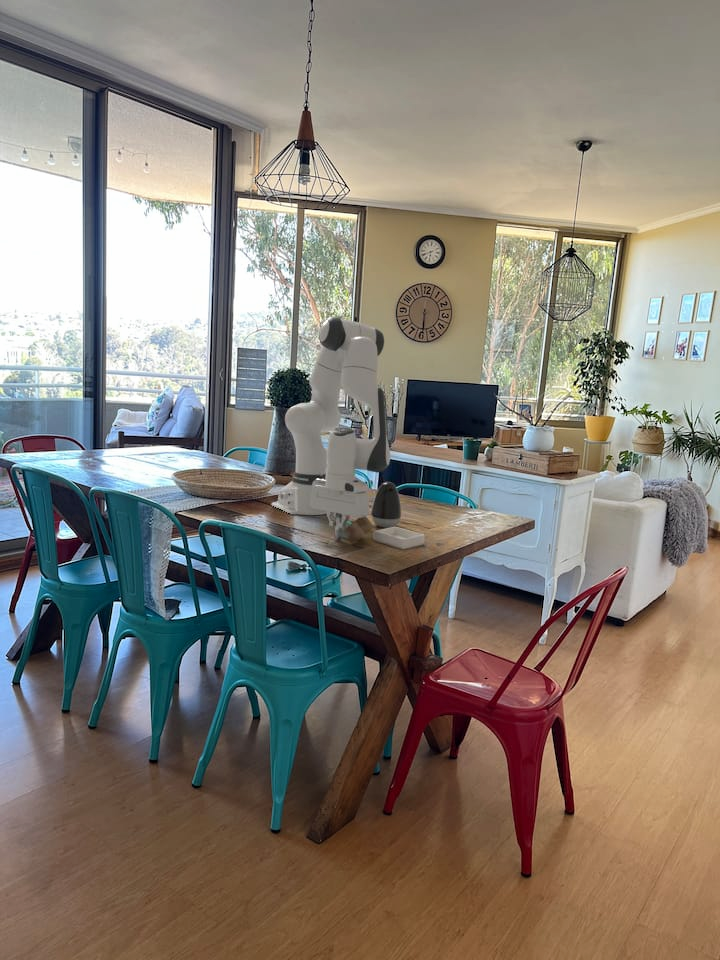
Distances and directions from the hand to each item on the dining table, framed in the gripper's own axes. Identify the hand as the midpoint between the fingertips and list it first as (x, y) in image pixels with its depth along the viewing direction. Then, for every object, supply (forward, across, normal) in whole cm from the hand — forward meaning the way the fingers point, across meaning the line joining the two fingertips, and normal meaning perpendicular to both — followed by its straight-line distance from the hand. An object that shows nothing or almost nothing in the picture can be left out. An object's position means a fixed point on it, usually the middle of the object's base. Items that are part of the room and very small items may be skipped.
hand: (337, 527), depth 212 cm
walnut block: (+2, +7, +3) cm, 8 cm away
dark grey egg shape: (+4, -1, +28) cm, 29 cm away
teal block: (+4, 0, +8) cm, 9 cm away
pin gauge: (+4, 0, +1) cm, 5 cm away
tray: (+4, +14, +14) cm, 20 cm away
